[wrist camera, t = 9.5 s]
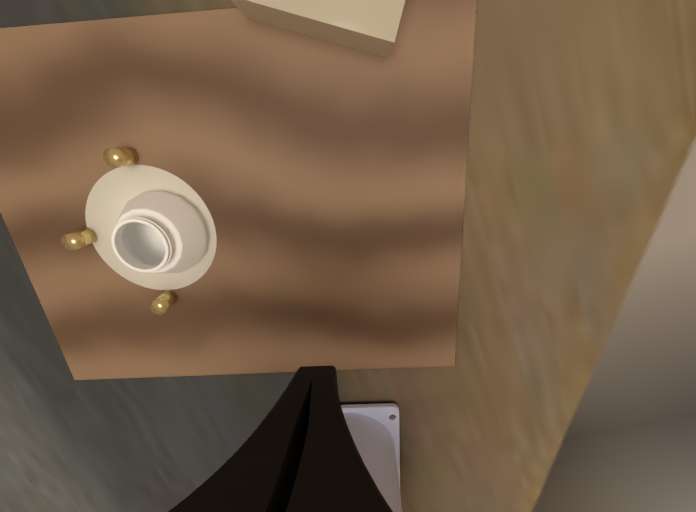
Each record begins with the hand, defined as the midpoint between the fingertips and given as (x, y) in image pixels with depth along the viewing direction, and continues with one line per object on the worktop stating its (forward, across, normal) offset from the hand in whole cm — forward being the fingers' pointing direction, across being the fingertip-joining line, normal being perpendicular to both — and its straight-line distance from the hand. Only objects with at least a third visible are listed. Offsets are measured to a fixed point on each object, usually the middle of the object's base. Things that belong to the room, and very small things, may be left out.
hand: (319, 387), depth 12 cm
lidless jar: (+10, +10, -4) cm, 14 cm away
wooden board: (+10, +6, -4) cm, 13 cm away
